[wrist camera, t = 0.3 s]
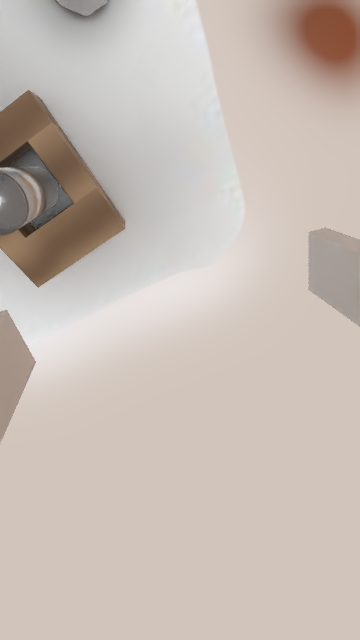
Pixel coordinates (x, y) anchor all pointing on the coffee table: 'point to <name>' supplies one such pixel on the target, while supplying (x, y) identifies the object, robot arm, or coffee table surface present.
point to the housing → (75, 178)
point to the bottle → (82, 5)
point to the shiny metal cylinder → (24, 196)
